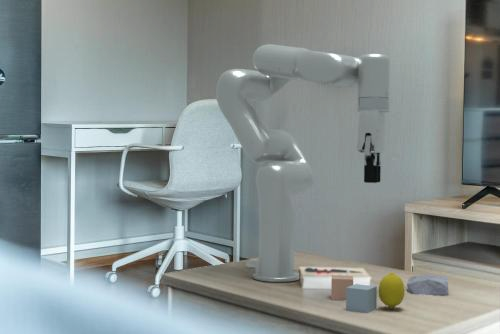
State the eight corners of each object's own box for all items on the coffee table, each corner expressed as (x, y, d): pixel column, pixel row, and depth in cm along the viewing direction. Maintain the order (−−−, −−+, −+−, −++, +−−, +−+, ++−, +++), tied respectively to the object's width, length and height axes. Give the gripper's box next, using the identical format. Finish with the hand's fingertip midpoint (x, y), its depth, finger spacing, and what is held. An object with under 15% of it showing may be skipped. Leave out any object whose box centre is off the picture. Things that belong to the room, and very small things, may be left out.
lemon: (388, 312, 158) (388, 275, 158) (373, 307, 163) (374, 271, 163) (409, 310, 160) (409, 273, 160) (394, 305, 165) (395, 269, 165)
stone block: (409, 302, 179) (451, 296, 177) (406, 282, 179) (447, 276, 177) (409, 294, 190) (448, 288, 188) (405, 276, 190) (444, 270, 188)
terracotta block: (331, 300, 171) (331, 278, 171) (331, 296, 176) (331, 275, 176) (352, 301, 170) (353, 279, 170) (352, 296, 175) (353, 275, 175)
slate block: (346, 310, 160) (346, 287, 160) (355, 306, 165) (355, 284, 164) (367, 313, 158) (367, 290, 158) (376, 309, 162) (376, 286, 162)
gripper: (365, 108, 186) (364, 180, 187) (349, 104, 171) (348, 183, 172) (395, 107, 183) (394, 181, 184) (381, 103, 169) (380, 184, 169)
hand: (372, 181), depth 178 cm, fingers closed
